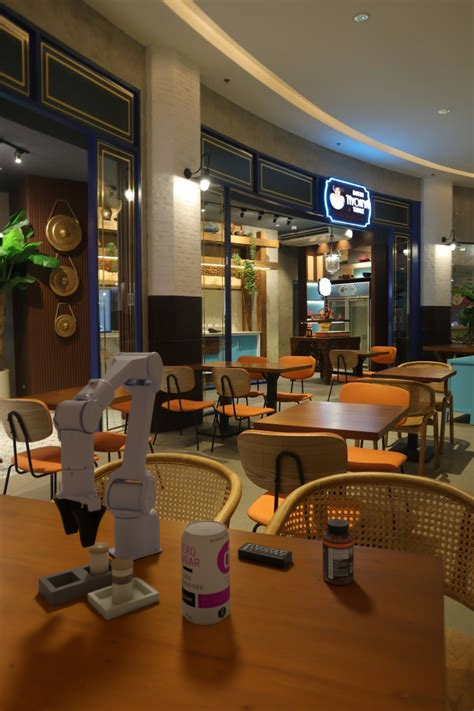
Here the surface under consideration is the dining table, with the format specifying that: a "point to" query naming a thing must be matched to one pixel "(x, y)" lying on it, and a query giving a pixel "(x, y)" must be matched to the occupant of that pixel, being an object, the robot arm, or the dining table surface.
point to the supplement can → (205, 572)
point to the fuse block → (73, 584)
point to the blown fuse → (122, 580)
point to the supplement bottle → (338, 553)
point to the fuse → (99, 558)
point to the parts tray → (141, 598)
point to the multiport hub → (265, 555)
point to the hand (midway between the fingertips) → (79, 539)
